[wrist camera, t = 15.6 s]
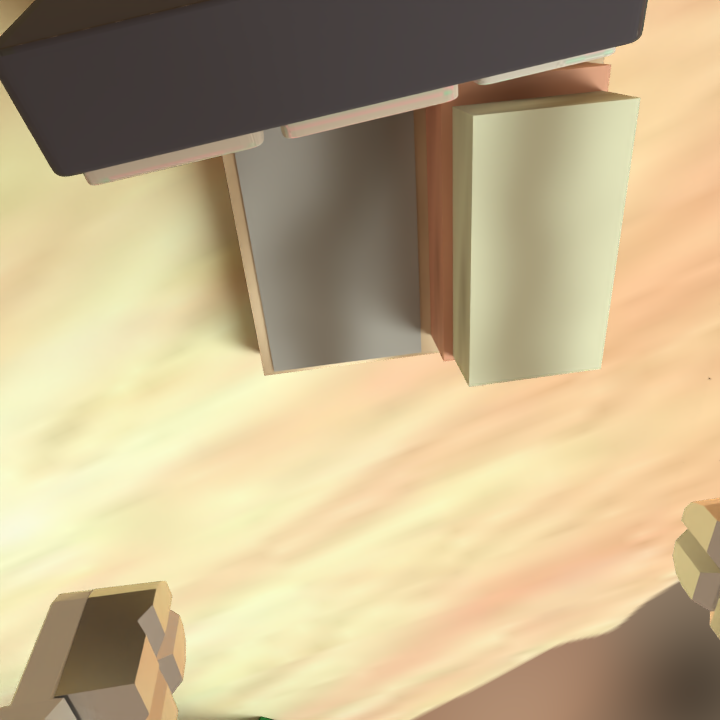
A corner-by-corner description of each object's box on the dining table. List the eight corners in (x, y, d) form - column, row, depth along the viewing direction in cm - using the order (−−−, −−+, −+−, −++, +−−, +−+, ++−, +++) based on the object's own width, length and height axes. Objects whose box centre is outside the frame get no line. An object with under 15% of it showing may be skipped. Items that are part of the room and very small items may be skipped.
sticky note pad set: (583, 28, 24) (687, 29, 18) (555, 317, 30) (625, 389, 24) (210, 65, 23) (186, 78, 17) (265, 355, 29) (261, 440, 23)
